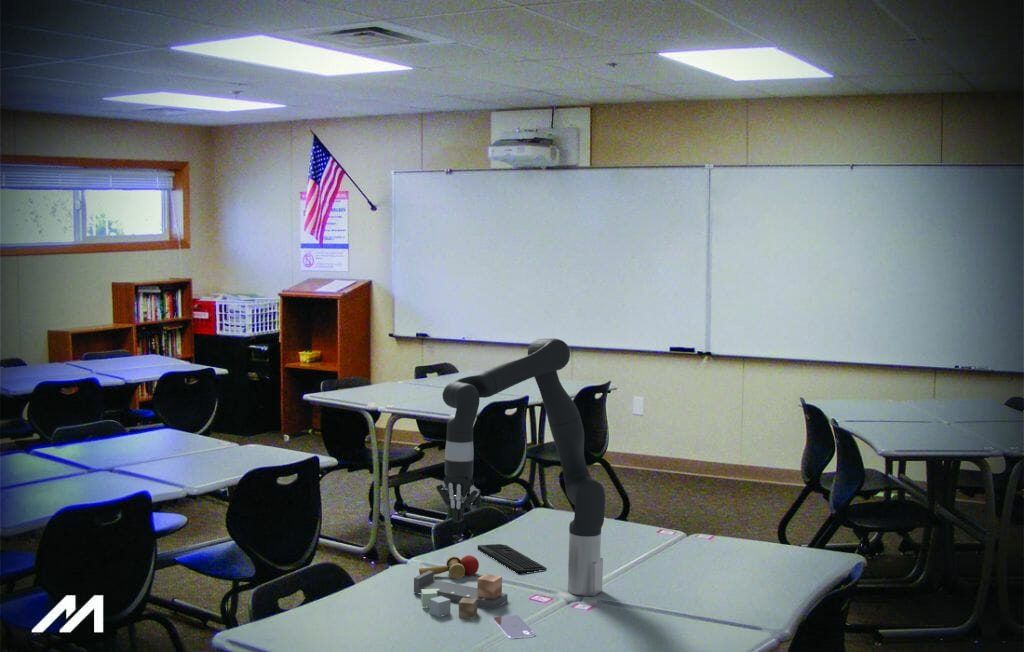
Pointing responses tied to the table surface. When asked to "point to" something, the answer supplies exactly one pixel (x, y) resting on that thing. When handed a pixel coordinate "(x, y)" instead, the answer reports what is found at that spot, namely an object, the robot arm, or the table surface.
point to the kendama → (456, 567)
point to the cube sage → (427, 596)
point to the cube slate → (439, 606)
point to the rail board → (455, 591)
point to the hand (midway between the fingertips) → (457, 521)
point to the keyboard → (511, 558)
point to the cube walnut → (468, 607)
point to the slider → (489, 586)
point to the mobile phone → (513, 626)
